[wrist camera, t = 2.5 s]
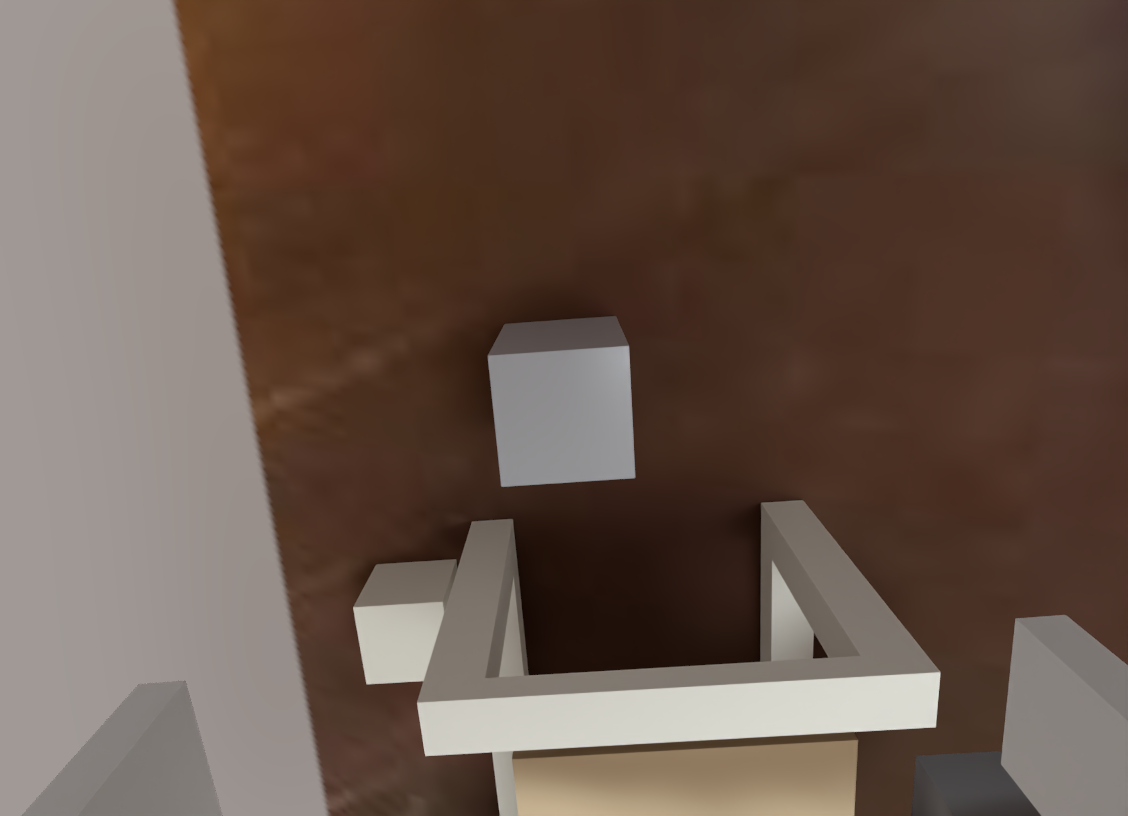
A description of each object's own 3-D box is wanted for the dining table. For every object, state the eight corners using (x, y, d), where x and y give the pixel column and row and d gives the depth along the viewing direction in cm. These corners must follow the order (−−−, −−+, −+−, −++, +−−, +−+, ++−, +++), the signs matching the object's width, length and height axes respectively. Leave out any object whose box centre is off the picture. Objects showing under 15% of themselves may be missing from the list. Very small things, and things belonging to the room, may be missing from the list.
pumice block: (376, 563, 35) (353, 607, 31) (456, 558, 35) (442, 601, 31) (388, 633, 36) (366, 684, 32) (465, 628, 36) (453, 679, 32)
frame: (472, 521, 34) (417, 702, 22) (803, 500, 34) (940, 672, 21) (506, 817, 39) (478, 1103, 27) (796, 801, 39) (904, 1084, 26)
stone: (504, 323, 32) (487, 355, 25) (615, 315, 32) (629, 345, 25) (514, 429, 33) (501, 486, 26) (621, 422, 33) (635, 477, 26)
